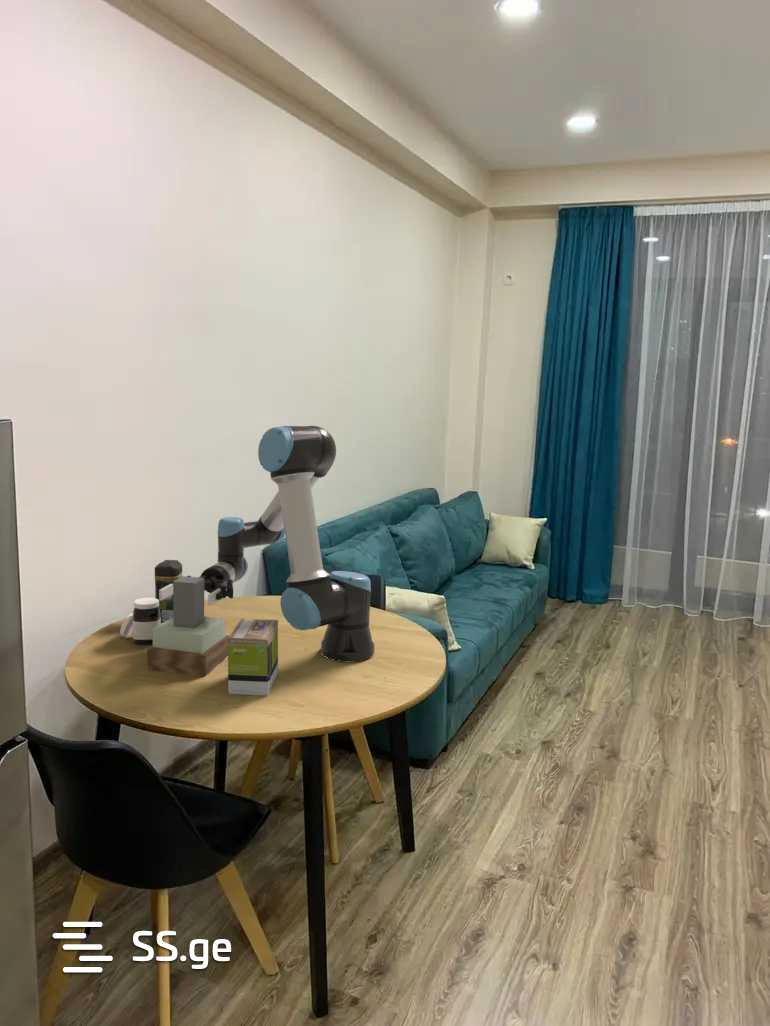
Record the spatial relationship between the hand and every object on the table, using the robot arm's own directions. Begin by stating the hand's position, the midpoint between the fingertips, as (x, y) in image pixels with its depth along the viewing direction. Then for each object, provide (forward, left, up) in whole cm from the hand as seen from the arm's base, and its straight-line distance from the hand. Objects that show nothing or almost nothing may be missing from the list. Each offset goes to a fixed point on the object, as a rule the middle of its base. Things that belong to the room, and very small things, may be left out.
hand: (184, 597), depth 197 cm
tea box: (-22, -6, -19) cm, 29 cm away
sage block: (+2, -3, -13) cm, 13 cm away
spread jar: (+25, -3, -19) cm, 32 cm away
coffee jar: (+35, -19, -19) cm, 44 cm away
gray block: (+2, -2, -8) cm, 9 cm away
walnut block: (+1, -2, -19) cm, 19 cm away
